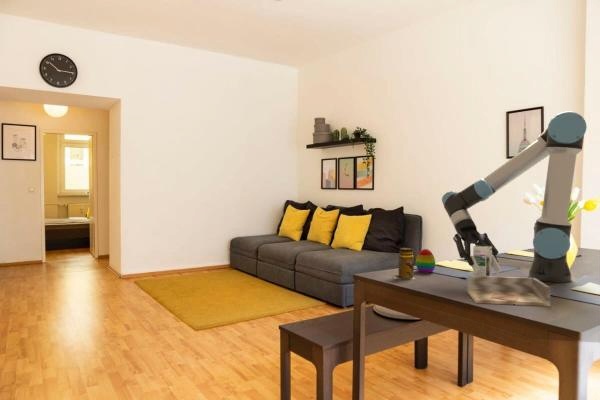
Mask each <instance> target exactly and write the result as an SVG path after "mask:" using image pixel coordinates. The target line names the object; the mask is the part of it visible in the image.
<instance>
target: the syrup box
mask: <svg viewBox="0 0 600 400" xmlns="http://www.w3.org/2000/svg"><path fill="white" fill-rule="evenodd" d="M472 256H474V258H475V260H476V262H477V264H478V266H479V268H480V271H479V273H478V274H475V272H474V270H473V269H472V276H493V267H492V246H476V245H474V246H473V247H472Z"/></svg>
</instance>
